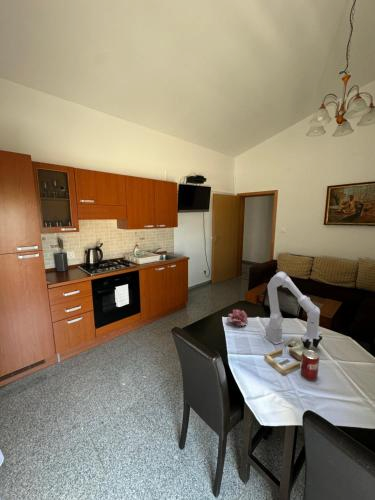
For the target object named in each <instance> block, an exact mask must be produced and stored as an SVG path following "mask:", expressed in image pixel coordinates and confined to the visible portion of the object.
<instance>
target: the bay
mask: <svg viewBox="0 0 375 500" xmlns="http://www.w3.org/2000/svg"><path fill="white" fill-rule="evenodd" d="M283 352H284V351H283V349H282V348H278V349H276V350H273V351H271V352H269V353H266V354H264V357H263V359H264V361H265V362H266V363H268V364H269V365H270V366H272V367H273V368H274V369H275V370H276V371H277V372H278V373H279V374H281V375H282V376H286V375H288V374H290V373H292V372H294V371H296V370H298V369H301V363H302V362H301V361H299V360H297V361H295V362H293V363H292V362H291V364H288V365H286V366H282V365H280V364H278V363H279V362H277V361H276V360H275V358H278V357H280V356H282V355H283V354H284V353H283Z"/></svg>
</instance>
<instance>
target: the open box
mask: <svg viewBox="0 0 375 500" xmlns="http://www.w3.org/2000/svg"><path fill="white" fill-rule="evenodd" d="M305 350H310V348H309V349H307V348H306V347H304V345H302V344H300V343H299V344H297V345H294V346H292V347H290V348H289V347H288V354H289V355H291V356H292V357H294V358H295V359H296V360H297V361H299V362H302V352H303V351H305Z"/></svg>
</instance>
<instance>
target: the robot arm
mask: <svg viewBox="0 0 375 500" xmlns="http://www.w3.org/2000/svg"><path fill="white" fill-rule="evenodd" d="M280 286H281V287H282V288H287V289H288V290H289V291H290V292H291V293H292V295H294V296H295V298H296V299H297V302H298V304H299V305H300V306H301V307H302V308H303V310H304V311H305V312H306V316H307V320H306V321H307V322H306V332H305V334H303V335H302V337H300V340H301V342H302V344H303V346H304V347H306V348H307V349H309V350H310V347H311V345H312V347H314V348H316V349H317V348H318V346H319V344H320V342H321V341H322V340H323V336H322V333H323V332H322V331H320V330H319V326H320V315H321V309H320V307H318V305H317V306H316V305H315V304H314V303H313V302H312V301H311V297H309V296H307V295H304V294H303V293H302V292H301V290H299V288H298V287H297V286H296V285H295V283H294V282H293V281H292V278H290V276H288V275H287V273H286V272H284V271H279V272H277V273H276V274H274V275H273V277H271V278H270V281H269V282H268V284H267V294H268V300H269V309H270V316H269V322H268V323H267V324H266V326H265V335H264V338H266V339H267V340H268V341H270V342H271V343H272V344H274V345H275V346H276V345H279V344H281V343H284V342H285V341H286V340H285V339H284V338H283V326H282V324H283V322H284V317H283V316H282V312H281V311H280V305H279V298H278V297H279V296H278V287H280ZM310 340H312V341H310Z"/></svg>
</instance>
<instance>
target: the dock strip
mask: <svg viewBox="0 0 375 500" xmlns="http://www.w3.org/2000/svg"><path fill="white" fill-rule="evenodd" d="M289 362H291V360H289V359H285V360H283V361H281V362H277V363H278V364H280V365H281V366H282V365H286V364H287V363H289Z"/></svg>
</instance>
